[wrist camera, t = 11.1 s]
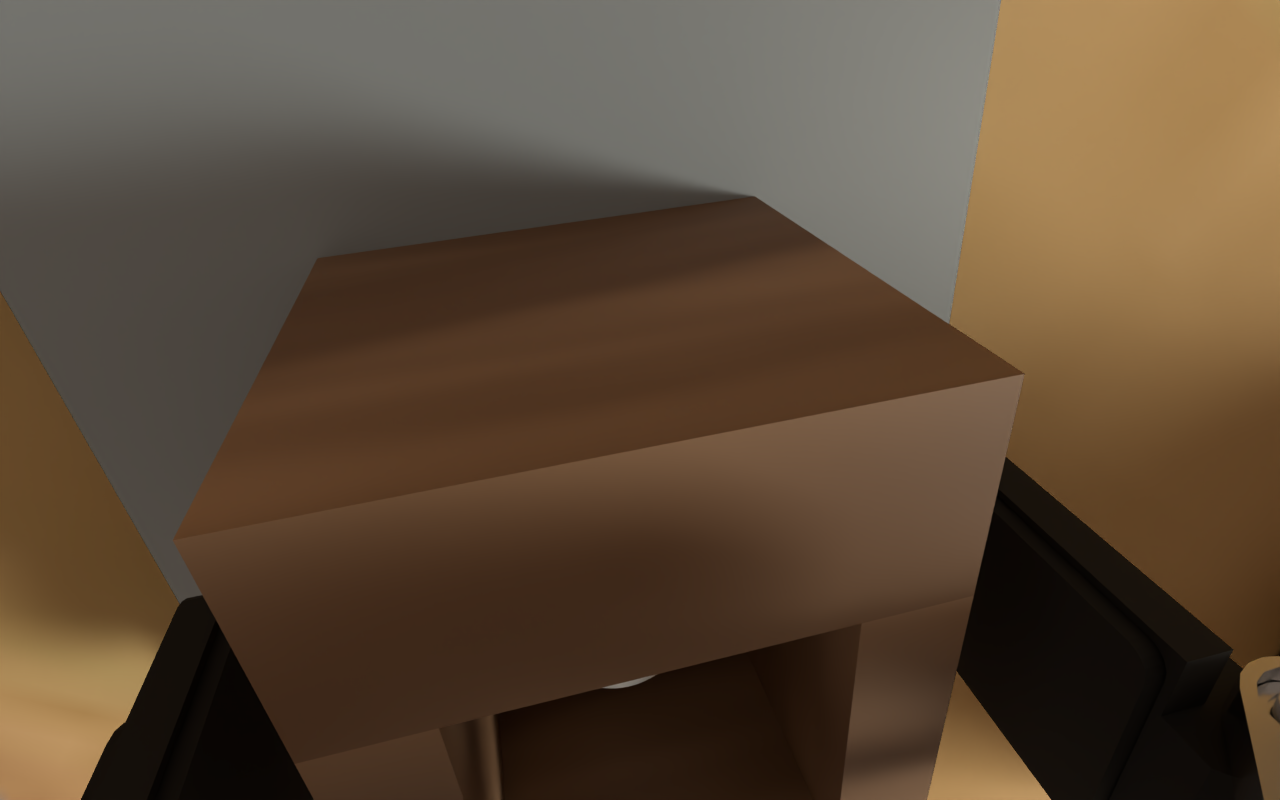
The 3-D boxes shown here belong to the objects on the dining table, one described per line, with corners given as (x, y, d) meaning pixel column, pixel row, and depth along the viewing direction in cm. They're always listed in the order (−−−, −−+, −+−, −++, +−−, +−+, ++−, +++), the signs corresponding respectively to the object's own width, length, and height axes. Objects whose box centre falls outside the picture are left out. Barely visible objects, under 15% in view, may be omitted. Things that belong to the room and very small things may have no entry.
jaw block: (317, 258, 10) (172, 539, 5) (754, 196, 11) (1025, 373, 6) (453, 683, 14) (454, 1058, 9) (752, 612, 15) (900, 916, 10)
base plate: (-131, -106, 8) (-967, -251, 3) (960, -171, 10) (1404, -315, 6) (332, 791, 17) (287, 1098, 13) (859, 656, 20) (993, 873, 15)
